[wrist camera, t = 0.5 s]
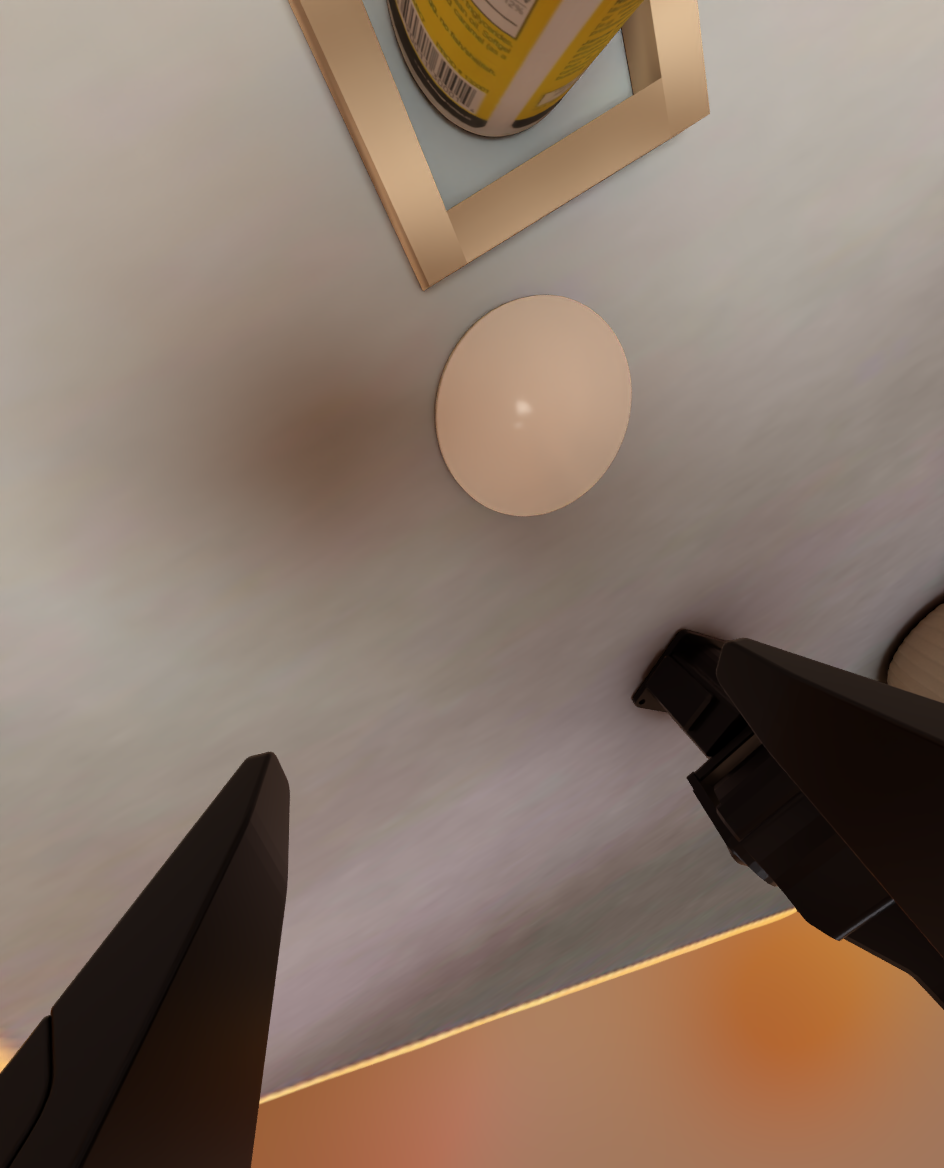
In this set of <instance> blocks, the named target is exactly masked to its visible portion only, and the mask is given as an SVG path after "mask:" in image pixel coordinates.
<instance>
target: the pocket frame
mask: <svg viewBox="0 0 944 1168" xmlns="http://www.w3.org/2000/svg"><path fill="white" fill-rule="evenodd" d="M288 1H289V4H290V6H291V8H292V10H293V12H294V14H295V16H296V19H297V21H298V23H299V25H300V27H301V29H302V31H303V34H304V36H305V38H306V40H307V42H308V44H309V47H310V49H311V51H312V53H313V55H314V57H315V59H316V62H317V64H318V66H319V68H320V70H321V72H322V75H323V77H324V79H325V81H326V83H327V85H328V87H329V90H330V92H331V94H332V96H333V98H334V100H335V102H336V105H337V107H338V109H339V111H340V113H341V115H342V118H343V120H344V122H345V124H346V126H347V128H348V130H349V133H350V135H351V137H352V139H353V141H354V143H355V146H356V148H357V150H358V152H359V154H360V156H361V158H362V161H363V163H364V165H365V167H366V169H367V171H368V173H369V176H370V178H371V180H372V182H373V184H374V186H375V189H376V191H377V193H378V195H379V197H380V199H381V201H382V204H383V206H384V208H385V210H386V212H387V214H388V217H389V219H390V221H391V223H392V225H393V227H394V229H395V232H396V234H397V236H398V238H399V240H400V242H401V245H402V247H403V249H404V251H405V253H406V255H407V257H408V260H409V262H410V264H411V266H412V268H413V270H414V272H415V275H416V277H417V279H418V281H419V283H420V285H421V288H422V290H423V291H424V290H426V289H427V288H429V287H431V286H432V285H434V284H436V283H437V282H439V281H440V280H442V279H444V278H445V277H447V276H449V275H450V274H452V273H453V272H455V271H457V270H458V269H460V268H461V267H463V266H465V265H466V264H468V263H470V262H471V261H473V260H474V259H476V258H478V257H479V256H481V255H483V254H484V253H486V252H487V251H489V250H491V249H492V248H494V247H496V246H497V245H499V244H500V243H502V242H504V241H505V240H507V239H509V238H510V237H512V236H513V235H515V234H517V233H518V232H520V231H521V230H523V229H525V228H526V227H528V226H530V225H531V224H533V223H534V222H536V221H538V220H539V219H541V218H543V217H544V216H546V215H547V214H549V213H551V212H552V211H554V210H556V209H557V208H559V207H560V206H562V205H564V204H565V203H567V202H569V201H570V200H572V199H573V198H575V197H577V196H578V195H580V194H582V193H583V192H585V191H586V190H588V189H590V188H591V187H593V186H594V185H596V184H598V183H599V182H601V181H603V180H604V179H606V178H607V177H609V176H611V175H612V174H614V173H616V172H617V171H619V170H620V169H622V168H624V167H625V166H627V165H629V164H630V163H632V162H633V161H635V160H637V159H638V158H640V157H642V156H643V155H645V154H646V153H648V152H650V151H651V150H653V149H654V148H656V147H658V146H659V145H661V144H663V143H664V142H666V141H667V140H669V139H671V138H672V137H674V136H676V135H677V134H679V133H680V132H682V131H684V130H685V129H687V128H688V127H690V126H691V125H693V124H694V123H696V122H697V121H699V120H701V119H702V118H704V117H705V116H707V115H708V114H710V110H709V102H708V93H707V84H706V75H705V66H704V57H703V48H702V39H701V30H700V22H699V13H698V4H697V0H644V1H643V2H642V3H641V4H640V6H639V7H638V8H637V9H636V10H635V12H634V13H633V14H632V15H631V16H630V18H629V19H628V20H627V21H626V22H625V23H624V25H623V26H622V33H623V38H624V44H625V49H626V55H627V60H628V66H629V71H630V77H631V82H632V88H633V93H634V95H633V96H631V97H629V98H628V99H626V100H625V101H623V102H621V103H620V104H618V105H617V106H615V107H613V108H612V109H610V110H609V111H607V112H605V113H604V114H602V115H600V116H599V117H597V118H596V119H594V120H592V121H591V122H589V123H588V124H586V125H584V126H583V127H581V128H580V129H578V130H576V131H575V132H573V133H572V134H570V135H568V136H567V137H565V138H564V139H562V140H560V141H559V142H557V143H555V144H554V145H552V146H551V147H549V148H547V149H546V150H544V151H543V152H541V153H539V154H538V155H536V156H535V157H533V158H531V159H530V160H528V161H527V162H525V163H523V164H522V165H520V166H518V167H517V168H515V169H514V170H512V171H510V172H509V173H507V174H506V175H504V176H502V177H501V178H499V179H498V180H496V181H494V182H493V183H491V184H490V185H488V186H486V187H485V188H483V189H482V190H480V191H478V192H477V193H475V194H473V195H472V196H470V197H469V198H467V199H465V200H464V201H462V202H461V203H459V204H457V205H456V206H454V207H453V208H451V209H449V210H448V211H446V209H445V206H444V204H443V201H442V199H441V196H440V194H439V191H438V189H437V186H436V184H435V182H434V179H433V177H432V174H431V172H430V169H429V167H428V164H427V162H426V159H425V157H424V154H423V152H422V149H421V147H420V144H419V142H418V139H417V137H416V134H415V132H414V129H413V127H412V124H411V122H410V119H409V117H408V114H407V112H406V109H405V107H404V104H403V102H402V99H401V97H400V94H399V92H398V89H397V87H396V84H395V82H394V79H393V77H392V74H391V72H390V69H389V67H388V64H387V62H386V59H385V57H384V54H383V52H382V49H381V47H380V44H379V42H378V39H377V37H376V34H375V32H374V29H373V27H372V24H371V22H370V19H369V17H368V15H367V12H366V10H365V7H364V5H363V2H362V0H288Z"/></svg>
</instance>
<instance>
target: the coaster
mask: <svg viewBox="0 0 944 1168" xmlns="http://www.w3.org/2000/svg"><path fill="white" fill-rule="evenodd" d="M631 390H632V389H631V378H630V372H629V367H628V363H627V359H626V357H625V354H624V351H623V348H622V346H621V344H620V342H619V340H618V338H617V336H616V335H615V334H614V332H613V331H612V329H611V328H610V326H609V325H608V324H607V323H606V322H605V321H604V320H603V319H602V318H601V317H600V316H599V315H598V314H597V313H595V312H594V311H593V310H591V309H590V308H589V307H587V306H585V305H583V304H581V303H579V302H577V301H575V300H572V299H569V298H566V297H561V296H554V295H535V296H530V297H524V298H520V299H516V300H514V301H511V302H508V303H505V304H503V305H501V306H499V307H497V308H495V309H494V310H492V311H490V312H488V313H487V314H486V315H484V316H483V317H482V318H481V319H479V320H478V321H477V322H476V323H475V324H474V325H473V326H472V327H471V328H470V329H469V330H468V331H467V332H466V333H465V334H464V335H463V337H462V338H461V339H460V341H459V342H458V343H457V345H456V346H455V348H454V350H453V351H452V353H451V355H450V357H449V358H448V361H447V363H446V365H445V368H444V370H443V372H442V376H441V379H440V383H439V386H438V391H437V397H436V405H435V424H436V434H437V439H438V444H439V447H440V450H441V453H442V456H443V459H444V461H445V463H446V465H447V467H448V469H449V471H450V472H451V474H452V475H453V477H454V478H455V480H456V481H457V482H458V483H459V485H460V486H461V487H462V488H463V489H464V490H465V491H466V492H467V493H468V494H469V495H470V496H471V497H472V498H473V499H475V500H476V501H477V502H479V503H480V504H482V505H484V506H485V507H487V508H490V509H492V510H494V511H496V512H500V513H503V514H507V515H514V516H534V515H541V514H545V513H549V512H552V511H555V510H557V509H560V508H562V507H564V506H566V505H568V504H570V503H572V502H574V501H575V500H576V499H578V498H579V497H581V496H582V495H583V494H585V493H586V492H587V491H588V490H589V489H590V488H591V487H593V486H594V484H595V483H596V482H597V481H598V480H599V479H600V478H601V477H602V476H603V474H604V473H605V472H606V470H607V469H608V468H609V466H610V464H611V463H612V461H613V459H614V458H615V456H616V454H617V452H618V450H619V448H620V446H621V444H622V441H623V438H624V435H625V432H626V429H627V425H628V421H629V416H630V409H631Z"/></svg>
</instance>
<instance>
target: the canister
mask: <svg viewBox="0 0 944 1168" xmlns="http://www.w3.org/2000/svg"><path fill="white" fill-rule="evenodd" d="M887 682H888V685H890V686H893V687H896V688H899V689H902V690H905V691H909V692H912V693H915V694H918V695H921V696H924V697H927V698H930V699H933V700H936V701H939V702H942V703H944V603H943V604H941V605H939V606H938V607H936V609H935V610H934V611H932V612H930V613H929V614H928V615H927V616H926V617H925V618H924V619H923V620H921V621H920V622H919V624H918V625H917V626H916V627H915V628H914V629H912V630H911V632H910V634H909V635H908V636H907V637H906V638H905V639H904V641H903V643H902V644H901V645H900V646H899V648H898V650H897V652H896V653H895V654H894V656H893V660H892V661H891V663H890V668H889V670H888V677H887Z"/></svg>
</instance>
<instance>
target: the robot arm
mask: <svg viewBox="0 0 944 1168" xmlns="http://www.w3.org/2000/svg"><path fill="white" fill-rule="evenodd" d="M633 703H634V704H635V705H636V706H637V707H640V708H645V709H651V710H657V711H663V712H667V713H668V714H669V715H670V716H671V717H672V718H673V719H674V721H675V722H676V723H677V724H678V725H679V726H680V727H681V729H682V730H683V731H684V732H685V733H686V734H687V735H688V737H689V738H690V739H691V740H692V741H693V742H694V743H695V744H696V746H697V747H698V748H699V749H700V750H701V751H702V752H703V754H704V755H705V756H706V757H707V758H708V759H709V760H708V761H707V762H705V763H704V764H703V765H702V766H701V767H700V768H699V769H698V770H697V771H695V772H692V773H691V774H690V775H688V776H687V779H688V781H689V783H690V784H691V786H692V787H693V789H694V790H693V792H694V793H695V795H696V797H697V798H698V800H699V801H700V803H701V805H702V806H703V808H704V810H705V811H706V813H707V814H708V816H709V818H710V819H711V821H712V822H713V824H714V826H715V827H716V829H717V830H718V832H719V834H720V835H721V837H722V838H723V840H724V842H725V843H726V845H727V848H728V850H729V852H730V854H731V856H732V857H733V859H734V860H735V861H736V862H737V863H739V864H741V865H745V866H748V867H749V868H750V869H752V870H753V871H754V872H755V873H756V874H757V875H758V876H759V877H760V878H762V879H763V880H764V881H766V882H767V883H769V884H770V885H772V886H778V887H779V888H780V889H781V890H782V891H783V892H784V894H785V895H786V896H787V897H788V899H789V900H790V901H791V903H792V904H793V905H794V906H795V908H796V909H797V910H798V911H799V913H800V914H801V915H802V917H803V918H804V919H805V920H806V921H807V922H808V923H809V924H811V925H812V926H814V927H816V928H817V929H819V930H821V931H822V932H823V933H825V934H827V935H828V936H830V937H832V938H834V939H835V940H838V941H840V940H841V939H843V938H844V939H845V940H848V941H849V942H851V943H853V944H855V945H857V946H858V947H860V948H862V949H864V950H866V951H868V952H870V953H871V954H873V955H875V956H877V957H879V958H881V959H882V960H884V961H886V962H888V963H890V964H892V965H893V966H895V967H897V968H899V969H901V970H903V971H905V972H906V973H908V974H909V975H911V976H912V977H913V978H914V979H915V980H916V981H917V982H918V983H919V984H920V985H921V986H922V987H923V988H924V989H925V990H926V991H927V992H928V993H929V994H930V996H932V998H933V999H934V1000H935V1001H936V1002H937V1003H938V1004H939V1005H940V1006H941V1007H942V1008H943V1010H944V703H942V702H939V701H936V700H933V699H930V698H927V697H924V696H921V695H918V694H915V693H912V692H909V691H905V690H902V689H899V688H896V687H893V686H890V685H887V684H884V683H881V682H878V681H875V680H872V679H869V678H866V677H863V676H860V675H857V674H854V673H851V672H848V671H845V670H842V669H839V668H836V667H833V666H830V665H827V664H824V663H821V662H818V661H815V660H812V659H809V658H806V657H803V656H800V655H797V654H794V653H791V652H788V651H785V650H782V649H779V648H776V647H772V646H769V645H766V644H763V643H760V642H757V641H754V640H751V639H748V638H739V639H735V640H730V641H724V640H720V639H717V638H713V637H710V636H707V635H703V634H700V633H696V632H693V631H689V630H682V631H680V632H679V633H678V634H677V635H676V637H675V638H674V640H673V641H672V643H671V644H670V645H669V647H668V648H667V650H666V651H665V653H664V654H663V656H662V657H661V658H660V660H659V661H658V663H657V664H656V666H655V667H654V668H653V670H652V671H651V673H650V674H649V676H648V677H647V679H646V680H645V681H644V683H643V684H642V686H641V687H640V689H639V690H638V691H637V693H636V694H635V696H634V697H633ZM289 807H290V790H289V784H288V780H287V778H286V776H285V774H284V771H283V769H282V767H281V765H280V763H279V761H278V758H277V756H276V755H275V754H274V753H273V752H266V753H262V754H258V755H253V756H250V757H248V758H247V759H246V760H245V761H244V762H243V763H242V764H241V766H240V767H239V768H238V770H237V771H236V772H235V773H234V775H233V776H232V777H231V778H230V780H229V781H228V782H227V784H226V785H225V786H224V787H223V789H222V790H221V791H220V793H219V794H218V795H217V796H216V798H215V799H214V800H213V802H212V803H211V804H210V805H209V807H208V808H207V809H206V811H205V812H204V813H203V814H202V816H201V817H200V818H199V820H198V821H197V822H196V823H195V825H194V826H193V827H192V829H191V830H190V831H189V832H188V834H187V835H186V836H185V837H184V839H183V840H182V841H181V843H180V844H179V845H178V846H177V848H176V849H175V850H174V852H173V853H172V854H171V855H170V857H169V858H168V859H167V861H166V862H165V863H164V864H163V866H162V867H161V868H160V870H159V871H158V872H157V873H156V875H155V876H154V877H153V879H152V880H151V881H150V882H149V884H148V885H147V886H146V888H145V889H144V890H143V891H142V893H141V894H140V895H139V897H138V898H137V899H136V900H135V902H134V903H133V904H132V905H131V907H130V908H129V909H128V911H127V912H126V913H125V914H124V916H123V917H122V918H121V920H120V921H119V922H118V923H117V925H116V926H115V927H114V929H113V930H112V931H111V932H110V934H109V935H108V936H107V938H106V939H105V940H104V941H103V943H102V944H101V945H100V947H99V948H98V949H97V950H96V952H95V953H94V954H93V956H92V957H91V958H90V959H89V961H88V962H87V963H86V965H85V966H84V967H83V968H82V970H81V971H80V972H79V973H78V975H77V976H76V977H75V979H74V980H73V981H72V982H71V984H70V985H69V986H68V988H67V989H66V990H65V991H64V993H63V994H62V995H61V997H60V998H59V999H58V1000H57V1002H56V1003H55V1004H54V1006H53V1007H52V1009H51V1013H50V1014H51V1015H48V1016H46V1017H44V1018H43V1019H42V1021H41V1022H40V1023H39V1024H38V1026H37V1027H36V1028H35V1030H34V1031H33V1032H32V1033H31V1035H30V1036H29V1037H28V1039H27V1040H26V1041H25V1042H24V1044H23V1045H22V1046H21V1048H20V1049H19V1050H18V1051H17V1053H16V1054H15V1055H14V1056H13V1058H12V1059H11V1060H10V1062H9V1063H8V1064H7V1065H6V1067H5V1068H4V1069H3V1070H2V1072H1V1073H0V1168H251V1161H252V1153H253V1145H254V1138H255V1130H256V1123H257V1115H258V1108H259V1100H260V1093H261V1085H262V1078H263V1070H264V1062H265V1055H266V1047H267V1040H268V1032H269V1024H270V1017H271V1009H272V1001H273V994H274V986H275V979H276V971H277V963H278V956H279V948H280V941H281V933H282V925H283V918H284V910H285V902H286V893H287V881H288V849H289Z"/></svg>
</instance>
